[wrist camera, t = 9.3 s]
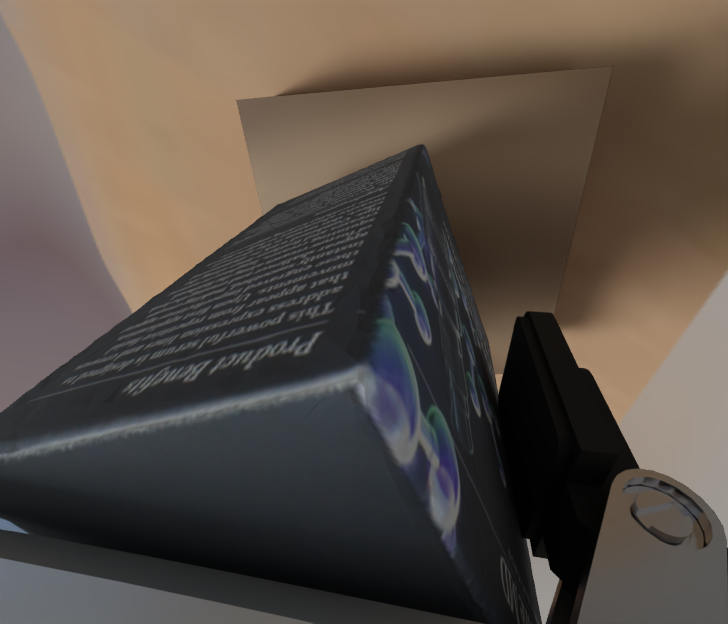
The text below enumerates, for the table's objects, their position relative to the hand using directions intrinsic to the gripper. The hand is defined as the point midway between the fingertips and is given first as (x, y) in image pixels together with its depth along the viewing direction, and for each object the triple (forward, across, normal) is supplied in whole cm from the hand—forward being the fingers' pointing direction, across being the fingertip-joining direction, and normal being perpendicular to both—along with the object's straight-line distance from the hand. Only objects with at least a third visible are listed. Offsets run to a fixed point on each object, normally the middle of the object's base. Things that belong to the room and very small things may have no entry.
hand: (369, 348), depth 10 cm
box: (+5, 0, 0) cm, 5 cm away
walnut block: (+10, -1, 0) cm, 10 cm away
